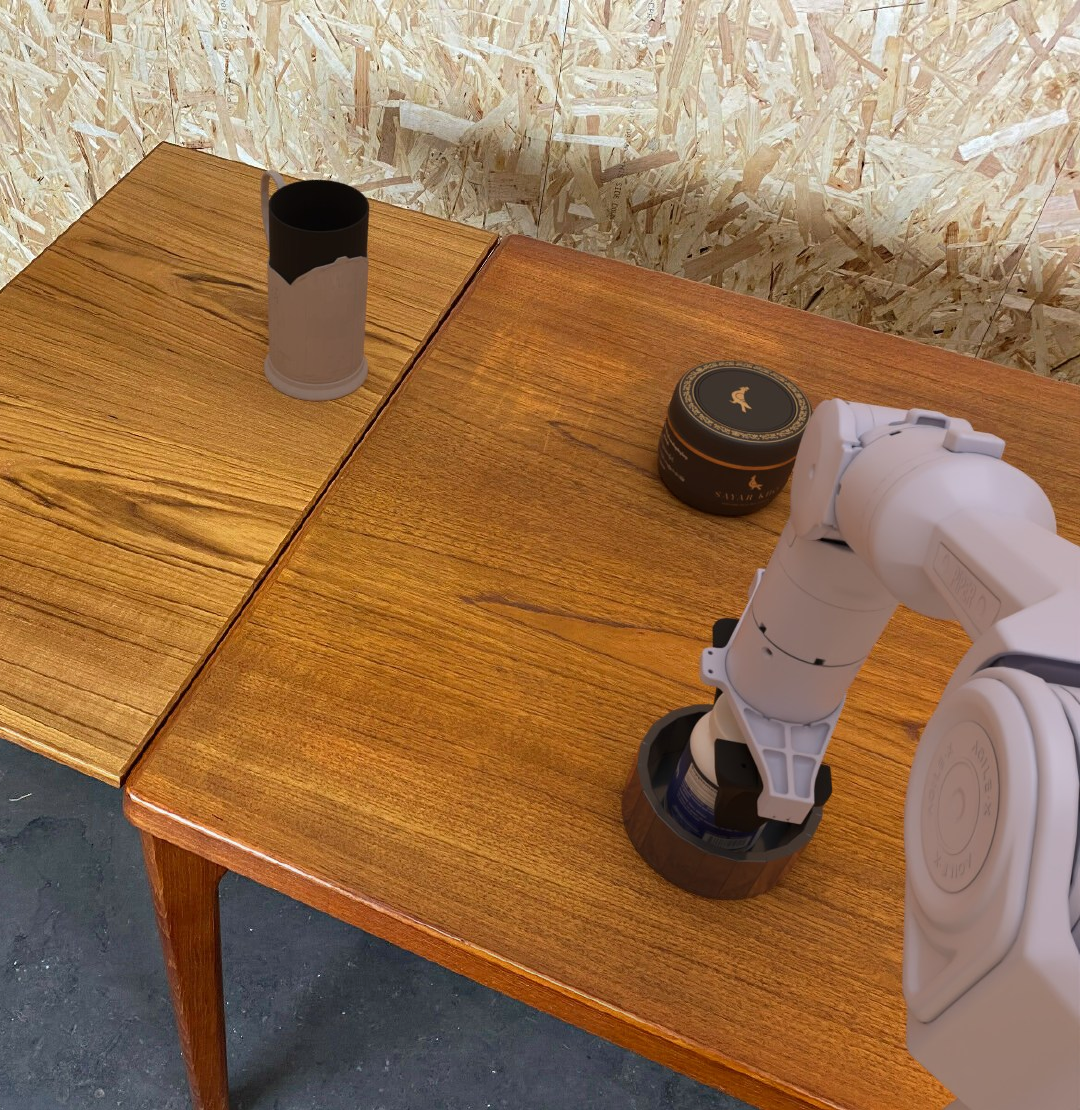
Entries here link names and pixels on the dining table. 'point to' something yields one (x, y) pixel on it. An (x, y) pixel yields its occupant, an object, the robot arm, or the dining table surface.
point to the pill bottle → (706, 782)
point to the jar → (731, 436)
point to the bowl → (686, 853)
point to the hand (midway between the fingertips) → (731, 774)
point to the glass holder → (315, 287)
